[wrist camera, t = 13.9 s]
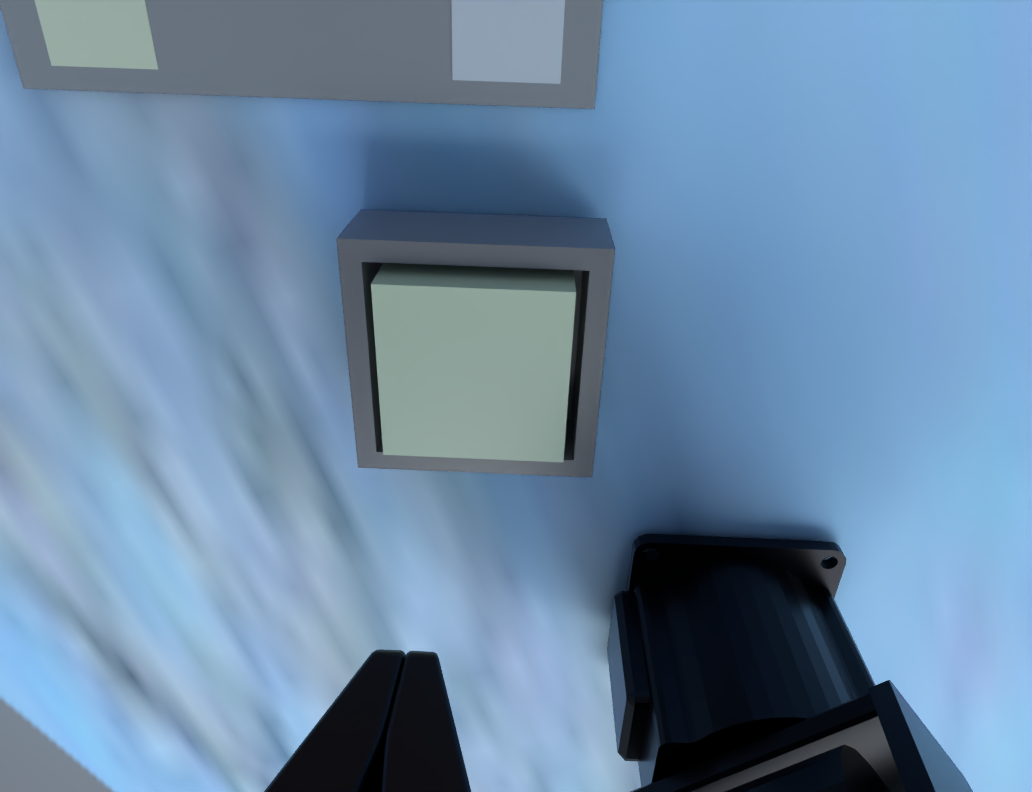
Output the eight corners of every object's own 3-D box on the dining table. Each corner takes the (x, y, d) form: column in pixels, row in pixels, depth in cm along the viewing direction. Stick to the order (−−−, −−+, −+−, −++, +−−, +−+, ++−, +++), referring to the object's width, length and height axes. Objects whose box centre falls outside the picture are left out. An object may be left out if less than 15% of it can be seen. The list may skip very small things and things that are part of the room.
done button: (572, 261, 17) (575, 292, 15) (561, 419, 19) (563, 462, 18) (388, 254, 17) (370, 283, 15) (397, 413, 19) (383, 454, 18)
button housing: (606, 218, 18) (614, 249, 15) (587, 427, 20) (591, 477, 18) (361, 209, 18) (336, 238, 16) (376, 419, 21) (358, 467, 18)
